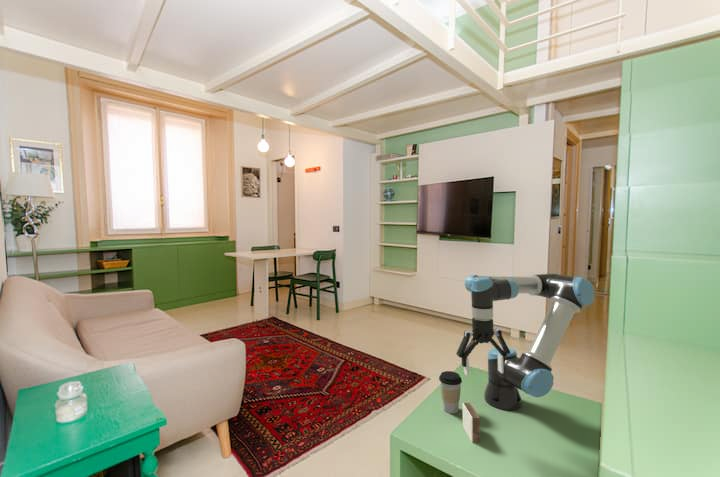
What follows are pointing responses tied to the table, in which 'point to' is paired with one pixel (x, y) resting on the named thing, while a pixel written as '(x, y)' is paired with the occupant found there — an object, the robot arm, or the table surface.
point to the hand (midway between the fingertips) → (483, 373)
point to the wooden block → (471, 422)
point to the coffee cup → (450, 391)
